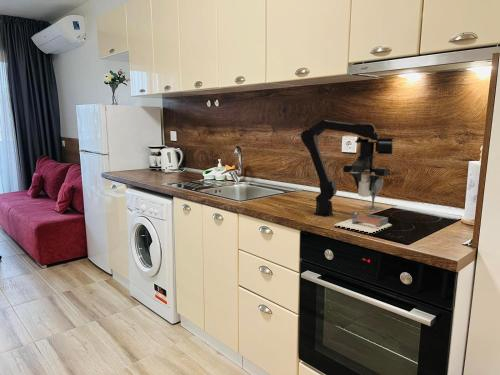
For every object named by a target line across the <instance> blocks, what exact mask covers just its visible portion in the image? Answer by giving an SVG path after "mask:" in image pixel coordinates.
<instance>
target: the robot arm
mask: <svg viewBox="0 0 500 375" xmlns="http://www.w3.org/2000/svg"><path fill="white" fill-rule="evenodd" d="M326 130H331V131H338V132H339V131H340V132H345V133H350V134H354V135H357V136H359V137H358V138H357V139H356V140H355V142H354V143H355V144H356V143H358V144H359V155H358V156H357V160H355V161H354V162H352V163H351V164H347V165H346V164H345V165H343V167H342V172H343V173H348V174H349V175H350V176H352V177H353V180H354V182H355V185H356V188H357V190H358V189H359V182H360V181H361V174H363V173H367V174H369V177H370V186H369V191H371V190H372V188H373V187H374V185H375V183H376V181H377V179H378V178H381V177H384V176H385V177H386V176H389V175H390V173H391V172H390V171H391V170H390V169H389V167H375V165H374V159H375V158H376V156H375V155H374V154H375V152H377V155H393V151H394V144H393V142H394V138H393V137H386V138H385V137H380V135H378V133H377V132H376V130H377V129H376V126H374V124H372V123H347V122H341V121H340V122H339V121H333V120H327V119H322V120H320V121H319V122H318V123H316V124H314V125H313V126H312V127H311V128H308V129H305V130H303V131H302V132H301V135H300V139H301V141H302V143H303V144H304V146H305V147H306V149H307V150H308V151H309V154H310V157H311V160H312V163H313V167H314V169H315V171H316V174H317V177H318V180H319V192H320V193H319V194H318V195H317V196H315V202H316V203H315V204H316V205H315V212H313V214H314V215H318V216H322V217H328V216H331V215H332V216H333V215H334V213H333V204H332V202H333V201H332V198H333V197H335V196H336V195H337V191H338V190H337V189H338V187H339V186H337V185H336V180H335V179H331V178H330V177H329V174H328V171H327V168H326V166H325V162H324V160H323V156H322V154H321V150H320V148H319V138H318V137H319V136H320V135H321V134H322V133H323V132H325V131H326ZM370 140H372V141H370Z"/></svg>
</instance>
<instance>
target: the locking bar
mask: <svg viewBox="0 0 500 375" xmlns="http://www.w3.org/2000/svg"><path fill="white" fill-rule="evenodd" d="M364 215H365V214H360V212H358V211H353V212H352V215H351V216H352V218H351V219H352V223H353V224H358V222H363V223H368V224H372V225H377V226H380V221H381V219H379V218H374V217H369V216H364Z"/></svg>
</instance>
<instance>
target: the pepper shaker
mask: <svg viewBox="0 0 500 375" xmlns="http://www.w3.org/2000/svg"><path fill="white" fill-rule="evenodd" d="M369 175H370V173H362V174H361V181H360V182H359V189H357V190H358V191H357V192H358V196H360V197H362V198H368V197H370V196H371V194H370V191H369V186H370V182H369Z"/></svg>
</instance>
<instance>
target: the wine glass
mask: <svg viewBox="0 0 500 375" xmlns="http://www.w3.org/2000/svg"><path fill="white" fill-rule="evenodd" d="M369 182H370V177H369ZM383 185H384V178H383V177H379V178H378V179H377V181H376V183H375V185H374V187H373V188H372V190H371V191H370V196H371V201H372V202H371V206H367V207H364V209H365V210H368V211H380V210H381V208H379V207H376V206H375V205H374V204H375V199H376V196H377V195H378V194H379V193H380V192H381V191H382V189H383V187H384V186H383Z"/></svg>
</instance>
